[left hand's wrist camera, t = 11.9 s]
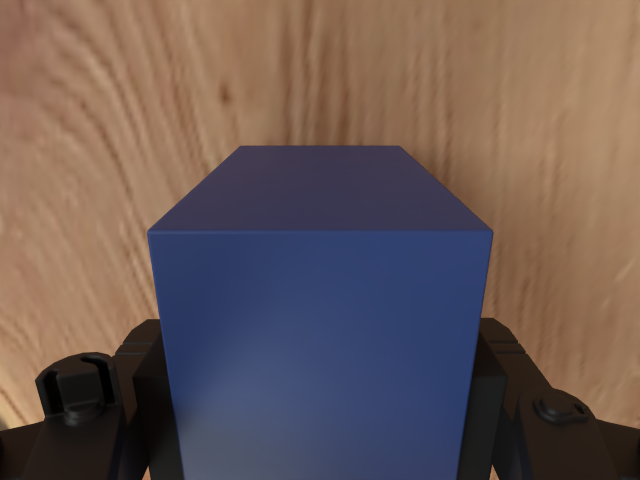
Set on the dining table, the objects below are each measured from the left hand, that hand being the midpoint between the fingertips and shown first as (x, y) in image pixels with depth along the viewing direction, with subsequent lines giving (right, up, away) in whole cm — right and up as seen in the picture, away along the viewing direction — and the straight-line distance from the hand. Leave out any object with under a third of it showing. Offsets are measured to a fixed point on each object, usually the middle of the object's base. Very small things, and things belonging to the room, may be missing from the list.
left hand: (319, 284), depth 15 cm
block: (0, +1, +2) cm, 2 cm away
